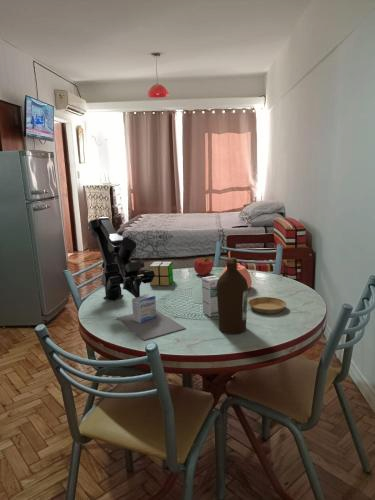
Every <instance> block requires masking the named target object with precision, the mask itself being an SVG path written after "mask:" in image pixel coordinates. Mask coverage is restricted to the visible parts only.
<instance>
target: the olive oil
mask: <svg viewBox="0 0 375 500" xmlns="http://www.w3.org/2000/svg"><path fill="white" fill-rule="evenodd" d="M237 260H238V259H237V258H236V257H228V258H226V261H227V262H226V266H227V270H226V271H225V272H224V273H223V274H222V273H221V274H222V275H221V274H220V276H219V277H220V278H219V279H218V281H217V285H216V289H217V303H218V315H217V317H218V330H219V331H220V332H221V333H224V334H227V335H238V334H242V333H244V332H246V330H247V316H248V315H247V314H248V309H247V308H248V296H249V295H248V294H249V293H248V292H249V289H248V284H247V281H246V279H245V277H244V276H243V275H242V274H241V273H240V272H239V271H238V270H237V263H238V262H237Z"/></svg>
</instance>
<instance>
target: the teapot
mask: <svg viewBox="0 0 375 500" xmlns="http://www.w3.org/2000/svg"><path fill="white" fill-rule="evenodd" d="M226 270H227V265H226V266H225V268H224V269H223V271H222V272H221V274H220V276H221V275H222V274H223V273H224V272H225V271H226ZM237 270H238V271H239V272H240V273H241V274H242V275H243V276H244V277H245V279H246V281H247V284H248V290H249V289H251V288H250V287H251V286H252V284H253V283H252V278H251V274H250V272H249V271H248V269H247V268H246V266H245V265H241V263H239V262H237Z"/></svg>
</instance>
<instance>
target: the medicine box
mask: <svg viewBox="0 0 375 500" xmlns="http://www.w3.org/2000/svg"><path fill="white" fill-rule="evenodd" d="M156 302H157V300H156V295H153V294H150V293H146V294H144V295H140V297H137V298H136V297H134V298H131V305H132V306H131V307H132V314H133V320H134V321H136V322H139V323H143V322H146V321H148V320H150V319H153V318H156V310H157V305H156V304H157V303H156Z"/></svg>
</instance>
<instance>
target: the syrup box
mask: <svg viewBox="0 0 375 500" xmlns="http://www.w3.org/2000/svg"><path fill="white" fill-rule="evenodd" d="M219 278H220V276H218V275H215V274H213V275H210V276H205V277H204V276H202V277H201V292H202V293H201V294H202V297H201V298H202V313H203V314H204V315H206V316H208V317H210V318H212V317H216V316H218V303H217V289H216V285H217V281H218V279H219Z"/></svg>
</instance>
